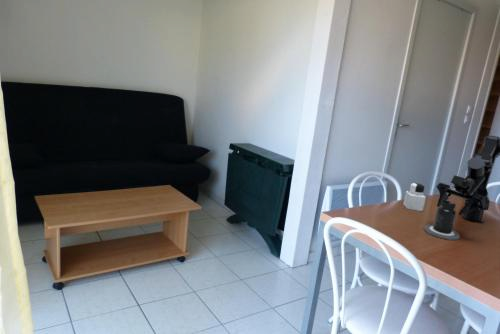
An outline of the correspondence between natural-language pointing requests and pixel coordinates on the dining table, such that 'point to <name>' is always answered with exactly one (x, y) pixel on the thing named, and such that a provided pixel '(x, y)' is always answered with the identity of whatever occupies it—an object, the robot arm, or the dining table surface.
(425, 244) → the dining table surface
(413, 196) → the medicine bottle
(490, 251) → the dining table surface
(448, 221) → the supplement bottle
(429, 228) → the trivet
